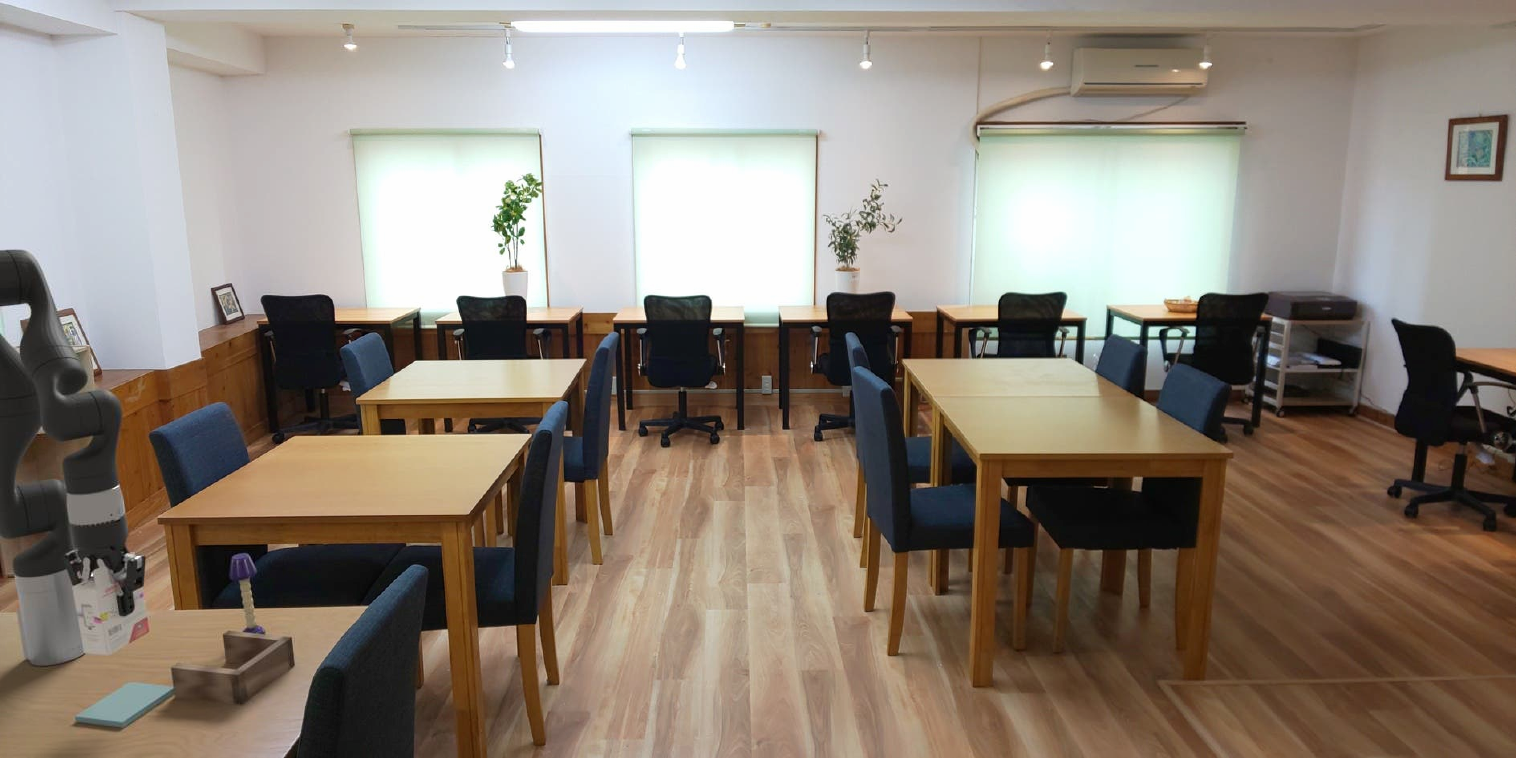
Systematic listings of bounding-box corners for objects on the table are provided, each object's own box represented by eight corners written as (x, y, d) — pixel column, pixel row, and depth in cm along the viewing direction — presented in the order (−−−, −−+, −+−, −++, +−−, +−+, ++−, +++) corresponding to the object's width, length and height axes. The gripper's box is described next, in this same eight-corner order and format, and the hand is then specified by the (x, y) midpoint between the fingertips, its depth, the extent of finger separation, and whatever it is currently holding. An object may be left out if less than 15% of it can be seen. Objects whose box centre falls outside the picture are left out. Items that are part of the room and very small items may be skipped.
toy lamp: (248, 644, 183) (238, 561, 179) (231, 639, 185) (221, 557, 181) (270, 633, 187) (260, 552, 184) (253, 628, 189) (244, 548, 186)
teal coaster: (75, 721, 157) (75, 716, 157) (131, 687, 168) (130, 681, 168) (123, 727, 156) (122, 722, 155) (175, 692, 166) (175, 687, 166)
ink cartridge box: (125, 629, 164) (113, 548, 161) (150, 632, 163) (138, 550, 160) (81, 653, 156) (67, 568, 153) (107, 656, 155) (94, 571, 152)
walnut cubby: (174, 696, 165) (170, 667, 164) (232, 658, 178) (228, 630, 177) (241, 704, 162) (238, 674, 161) (294, 664, 175) (291, 637, 174)
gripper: (38, 519, 152) (55, 619, 156) (116, 526, 150) (131, 627, 153) (79, 504, 160) (94, 599, 163) (154, 509, 157) (168, 606, 160)
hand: (112, 612), depth 158 cm, fingers closed on ink cartridge box, 5 cm apart
